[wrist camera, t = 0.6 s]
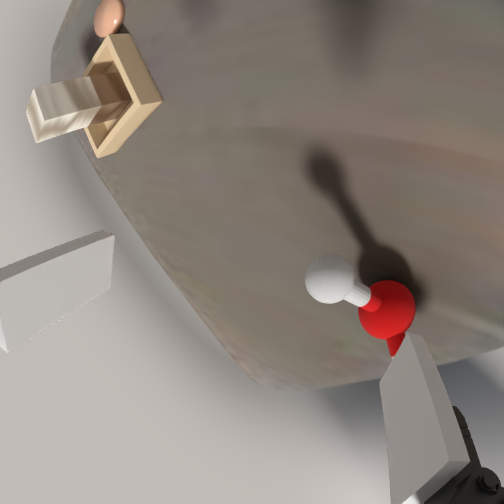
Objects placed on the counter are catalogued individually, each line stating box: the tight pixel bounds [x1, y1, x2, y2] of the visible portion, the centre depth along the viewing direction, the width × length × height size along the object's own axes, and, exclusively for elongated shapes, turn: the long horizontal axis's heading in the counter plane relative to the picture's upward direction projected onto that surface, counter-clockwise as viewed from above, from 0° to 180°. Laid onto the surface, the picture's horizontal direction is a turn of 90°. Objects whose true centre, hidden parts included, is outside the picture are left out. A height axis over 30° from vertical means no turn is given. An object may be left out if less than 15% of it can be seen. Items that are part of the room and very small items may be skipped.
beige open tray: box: [81, 33, 163, 158], centre depth 36 cm, size 14×12×4 cm
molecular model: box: [305, 254, 415, 360], centre depth 25 cm, size 18×6×10 cm, turn 52°
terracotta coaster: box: [94, 0, 125, 37], centre depth 31 cm, size 6×6×1 cm
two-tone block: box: [26, 72, 132, 143], centre depth 32 cm, size 5×5×13 cm
